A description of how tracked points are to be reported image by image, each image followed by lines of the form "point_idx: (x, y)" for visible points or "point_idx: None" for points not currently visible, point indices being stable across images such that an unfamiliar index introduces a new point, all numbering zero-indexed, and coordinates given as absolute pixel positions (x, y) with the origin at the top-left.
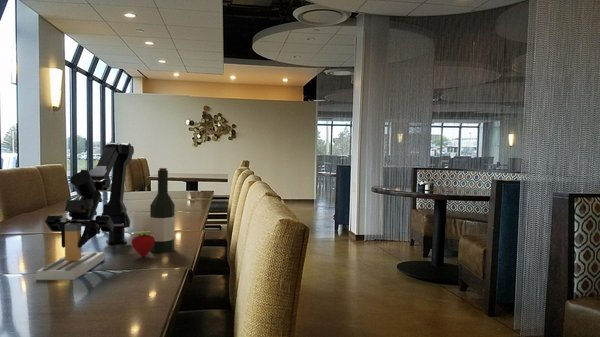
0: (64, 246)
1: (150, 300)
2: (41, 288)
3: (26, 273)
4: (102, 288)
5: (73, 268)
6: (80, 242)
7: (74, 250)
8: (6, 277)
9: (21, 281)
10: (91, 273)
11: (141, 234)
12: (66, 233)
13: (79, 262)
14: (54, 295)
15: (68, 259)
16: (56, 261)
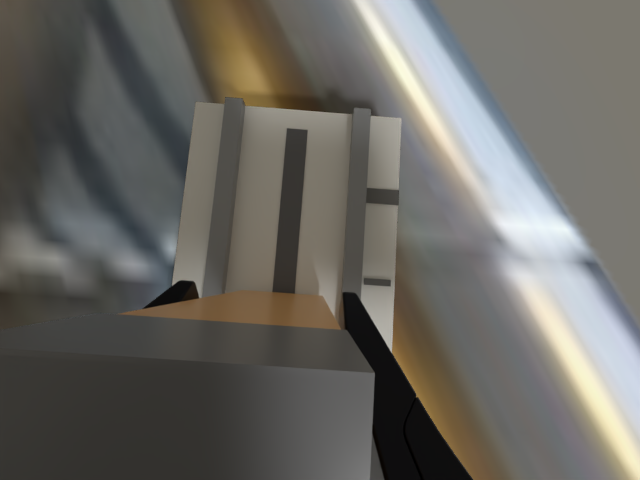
0: (339, 321)
1: None
2: (310, 28)
3: (493, 251)
4: (48, 3)
5: (217, 149)
6: (159, 303)
7: (245, 295)
8: (549, 192)
9: (445, 127)
10: (160, 225)
11: None
12: (314, 324)
13: (210, 238)
14: None
15: (300, 294)
16: (382, 312)
